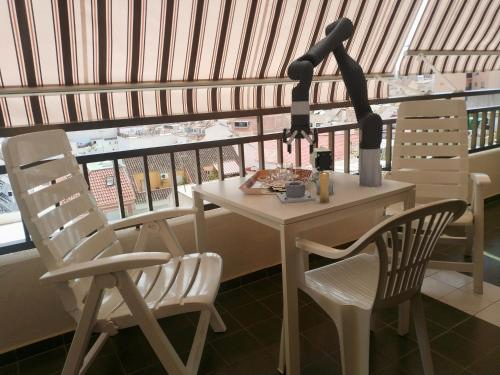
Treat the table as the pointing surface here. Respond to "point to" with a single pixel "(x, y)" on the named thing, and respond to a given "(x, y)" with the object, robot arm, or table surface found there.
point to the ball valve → (320, 161)
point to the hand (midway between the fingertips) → (300, 153)
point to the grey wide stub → (329, 187)
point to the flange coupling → (295, 193)
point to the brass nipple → (324, 187)
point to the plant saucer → (284, 187)
